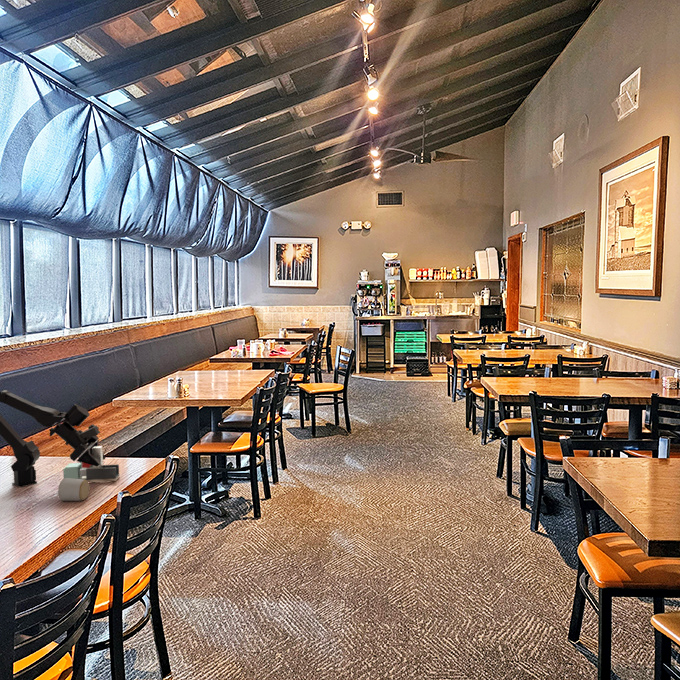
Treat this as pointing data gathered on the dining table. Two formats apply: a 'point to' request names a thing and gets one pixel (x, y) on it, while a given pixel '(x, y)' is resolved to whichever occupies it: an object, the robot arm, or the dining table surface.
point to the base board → (99, 479)
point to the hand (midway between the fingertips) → (101, 462)
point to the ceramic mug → (73, 489)
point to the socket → (72, 470)
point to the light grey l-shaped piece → (98, 455)
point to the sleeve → (103, 472)
